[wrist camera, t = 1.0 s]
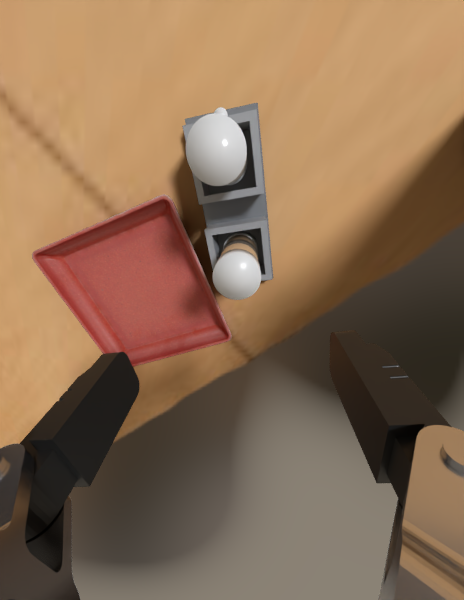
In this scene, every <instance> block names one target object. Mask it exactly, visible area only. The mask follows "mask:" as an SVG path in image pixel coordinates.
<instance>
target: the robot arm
mask: <svg viewBox="0 0 464 600" xmlns="http://www.w3.org/2000/svg"><path fill="white" fill-rule="evenodd" d="M330 373H331V377H332V381H333V384H334V386H335V388H336V390H337V393H338V395H339V397H340V399H341V402H342V404H343V407H344V409H345V411H346V413H347V416H348V418H349V420H350V423H351V425H352V427H353V429H354V432H355V434H356V436H357V439H358V441H359V443H360V446H361V448H362V450H363V453H364V455H365V457H366V459H367V462H368V464H369V466H370V469H371V471H372V473H373V475H374V478H375V480H376V483H391V484H392V486H393V488H394V490H395V492H396V494H397V496H398V501H397V506H396V511H395V516H394V522H393V527H392V532H391V538H390V543H389V548H388V553H387V559H386V564H385V569H384V575H383V580H382V585H381V590H380V594H379V598H378V600H464V431H461V430H459V429H456V428H453V427H451V426H450V425H449V424H448V422H447V421H446V420H445V419H444V418H443V417H442V415H441V414H440V413H439V412H438V411H437V410H436V408H435V407H434V406H433V405H432V404H431V402H430V401H429V400H428V399H427V398H426V396H425V395H424V394H423V393H422V392H421V391H420V389H419V388H418V387H417V386H416V385H415V383H414V382H413V381H412V380H411V379H410V378H408V375H407V374H406V373H405V372H404V370H403V369H402V368H401V367H399V364H398V363H397V362H396V361H395V360H394V359H393V357H392V356H391V355H390V354H389V353H388V352H387V351H385V350H383V349H382V348H380V347H379V346H377V345H376V344H374V343H372V344H365V343H364V341H363V340H362V339H361V337H360V336H359V335H358V333H357V332H356V331H354V330H352V331H343V332H332V333H331V337H330ZM138 392H139V380H138V377H137V375H136V373H135V371H134V369H133V366H132V364H131V362H130V360H129V358H128V356H127V354H126V353H125V352H115V353H105V354H103V355H101V356H100V358H99V359H98V360H97V361H96V362H95V363H94V365H93V366H92V367H91V368H90V369H89V370H87V371H86V372H85V373H83V374H82V375H81V376H79V377H78V378H77V379H76V380H75V382H74V383H73V384H72V385H71V386H70V387H69V388H68V391H66V392H65V393H64V394H63V395H62V396H61V397H60V400H59V401H57V402H56V403H55V404H54V405H53V407H52V408H51V409H50V410H49V411H48V412H47V413H46V414H45V416H44V417H43V418H42V419H41V420H40V421H39V422H38V424H37V425H36V426H35V427H34V428H33V429H32V430H31V432H30V433H29V434H28V435H27V436H26V437H25V438H24V439H23V441H22V442H21V443H20V444H11V445H8V446H5V447H3V448H0V600H80V596H79V593H78V590H77V588H76V586H75V583H74V580H73V575H72V501H71V498H70V497H69V496H68V495H69V494H70V492H71V490H72V489H73V487H86V486H90V485H91V483H92V481H93V479H94V477H95V475H96V474H97V472H98V470H99V468H100V466H101V464H102V462H103V460H104V458H105V456H106V454H107V453H108V451H109V449H110V447H111V445H112V443H113V441H114V439H115V437H116V435H117V433H118V432H119V430H120V428H121V426H122V424H123V422H124V420H125V418H126V416H127V414H128V412H129V411H130V409H131V407H132V405H133V403H134V401H135V399H136V397H137V395H138Z"/></svg>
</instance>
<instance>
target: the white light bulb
mask: <svg viewBox="0 0 464 600" xmlns="http://www.w3.org/2000/svg"><path fill="white" fill-rule="evenodd" d="M186 157H187V161H188V164H189V166H190V168H191V170H192V172H193V173H194V174H195V176H196V177H197V178H198V179H199V180H201V181H202V182H204V183H206V184H209V185H212V186H224V185H227V186H228V185H234V184H236V183H238V182H239V181H240V180H241V179H242V178H243V177H244V175H245V173H246V170H247V147H246V141H245V137H244V134H243V132H242V130H241V128H240V127H239V126H238V124H237V123H236V122H235V121H234V120H232V119H231V118H230V117H228V116H226V115H223V114H218V113H213V114H208V115H205V116H203V117H201V118H200V119H199V120H198V121H196V122H195V124H194V125H193V126H192V128H191V130H190V132H189V134H188V137H187V141H186Z"/></svg>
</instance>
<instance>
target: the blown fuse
mask: <svg viewBox="0 0 464 600" xmlns="http://www.w3.org/2000/svg"><path fill="white" fill-rule="evenodd" d="M213 283H214V285H215V287H216V289H217V290H218V292H219V293H220V294H222V295H223V296H225V297H227V298H229V299H234V300H241V299H245V298H248V297H250V296H251V295H253V294H254V293H255V292H256V291H257V289H258V288H259V286H260V283H261V271H260V265H259V261H258V249H257V243H256V240H255V239H254V237H253V236H252V235H251V234H249V233H247V232H245V231H237V232H234V233H232V234H231V235H229V236H228V238H227V239H226V241H225V243H224V246H223V250H222V252H221V255H220V257H219V259H218V261H217V263H216V265H215V268H214V270H213Z"/></svg>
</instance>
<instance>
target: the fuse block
mask: <svg viewBox="0 0 464 600" xmlns="http://www.w3.org/2000/svg"><path fill="white" fill-rule="evenodd" d="M214 113H218V114H223V115H226V116H228V117H230V118H231V119H232V120H234V121H235V122H236V123H237V124H238V126H239V127H240V128H241V130H242V132H243V134H244V137H245V141H246V147H247V170H246V173H245V175H244V177H243V178H242V179H241V180H240V181H239V182H238V183H236V184H234V185H228V186H227V185H224V186H212V185H209V184H206V183H204V182H202V181H201V180H199V179H198V178H197V177H196V176H195V174H194V173H193V172H192V173H193V178H194V183H195V188H196V192H197V197H198V202H199V205H201V204H202V206H203V211H204V215H205V220H206V225H207V228H206V229H205V230H204V231H205V235H206V240H207V245H208V250H209V254H210V259H211V264H212V269H213V270H214V268H215V265H216V263H217V261H218V259H219V257H220V255H221V252H222V250H223V246H224V243H225V241H226V239H227V238H228V236H229V235H231V234H232V233H234V232H237V231H245V232H247V233H249V234H251V235H252V236H253V237H254V239H255V240H256V243H257V249H258V261H259V265H260V271H261V281H264V280H272V278H273V270H272V259H271V248H270V237H269V225H268V214H267V203H266V192H265V181H264V170H263V158H262V147H261V136H260V125H259V114H258V103H253V104H249V105H245V106H240V107H236V108H231V109H227V110H225V109H224V108H222V107H219V108H217V109H216V110H215V112H214ZM209 114H213V113H209ZM205 115H208V114H205ZM205 115H201V116H196V117H192V118H187V119H185V122H186V125H184V126H183V130H184V135H185V140H186V141H187V137H188V134H189V132H190V130H191V128H192V126H193V125H194V124H195V122H196V121H198V120H199V119H200V118H201V117H203V116H205Z"/></svg>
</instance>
